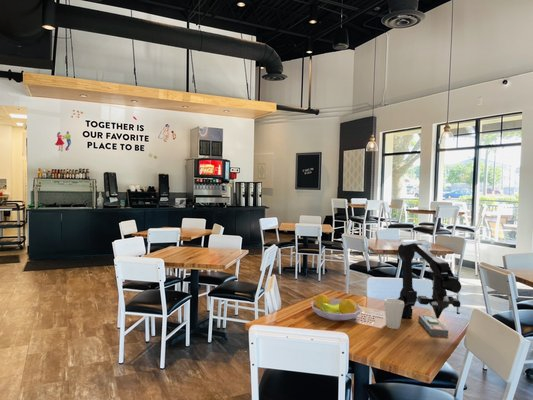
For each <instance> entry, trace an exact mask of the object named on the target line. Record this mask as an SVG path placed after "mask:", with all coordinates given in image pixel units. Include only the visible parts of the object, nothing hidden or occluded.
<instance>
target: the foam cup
mask: <svg viewBox="0 0 533 400" xmlns="http://www.w3.org/2000/svg"><path fill="white" fill-rule="evenodd" d="M383 301H384V310H385V311H384V313H385V325H387V326H386V327H387V328H389V329H393V330H398V329H400V327H401V321H402V319H403V318H402V313H403V308H404V302H403V301H402V300H398V298H391V297H390V298H385V299H384V300H383Z"/></svg>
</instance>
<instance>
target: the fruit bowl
mask: <svg viewBox="0 0 533 400" xmlns="http://www.w3.org/2000/svg"><path fill="white" fill-rule="evenodd" d="M311 307H312V310H313V312H314V313H316V314H317V315H318V316H319V317H322V318H324V319H328V320H329V321H333V322H335V321H336V322H337V321H347V320H351V319H355V318H357V317H358V316H359V314H361V311H362V308H361V307H360V305H359V304H358V303H356V302H355V300H353V299H351V298H350V299H349V298H344V299H341V298H331V297H330V298H329V297H328V296H327V295H326V294H318V295H317V296H315V298H314V300H312V301H311ZM340 313H341V314H340Z"/></svg>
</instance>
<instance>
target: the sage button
mask: <svg viewBox="0 0 533 400" xmlns="http://www.w3.org/2000/svg"><path fill="white" fill-rule="evenodd" d="M428 322H429V324H438V321H437V320H436V319H428Z"/></svg>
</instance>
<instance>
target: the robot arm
mask: <svg viewBox="0 0 533 400" xmlns="http://www.w3.org/2000/svg"><path fill="white" fill-rule="evenodd" d="M397 252H398V256H399V258H400V260H401V265H402V266H401V269H402V271H401V272H402V274H401V276H402V288H401V290H400V291H399V297H398V298H397V299H398V300H402V301H403V302H404V308H403V313H402V318H401V319H411V320H413V308H412V307H415V305H416V303H417V302H418V304H420V305H425V306H427V305H430V306H431V308H432V309H433V312H434V316H435V317H436V318H437V319H438V320H439V319H440V316H441V315H442V312H443V311H444V310H445V309H447V308H449V306H450V305H452V306H453V307H454V308H460V307H461V301H460V300H459V299H457V298H455V297H454V296H451V295H448V293H447V291H448V292H451V293H454V294H458V293H459V292H460V291H461V290H462V284H461V283H462V282H460V281H459V278H458V277H455V276H454V273H453V271H452V269H451V267H450V263H449V262H447V261H445V260H444V259H442V258H439V257H438V256H436V255H435V254H433V253H432V252H431V251H430V250H429V249H428V248H426V246H424V244H423V243H422V242H412V243H407V244H405V243H404V244H400V245H399V246H398V248H397ZM415 253H416V254H418V255H419V256H420V257H421V258H422V259H423V260H425V261H426V262H427V263H428V264H429V268H430V270H431V271H432V273H430V276H431V277H433V283H432V288H431V289H432V295H431V298H429V297H427V295H418V291H417V290H415V289H414V287H413V266H412V265H413V262H412V261H413V259H414V257H415Z"/></svg>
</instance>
